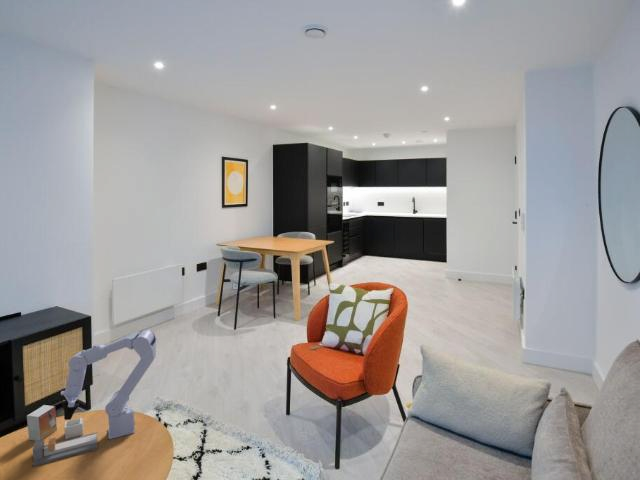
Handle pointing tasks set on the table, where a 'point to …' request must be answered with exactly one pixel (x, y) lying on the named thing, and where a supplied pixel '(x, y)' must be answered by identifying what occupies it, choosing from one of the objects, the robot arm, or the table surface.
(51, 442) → the orange block
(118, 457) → the table surface
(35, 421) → the small box
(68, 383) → the robot arm
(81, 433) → the block
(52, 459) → the rail board
